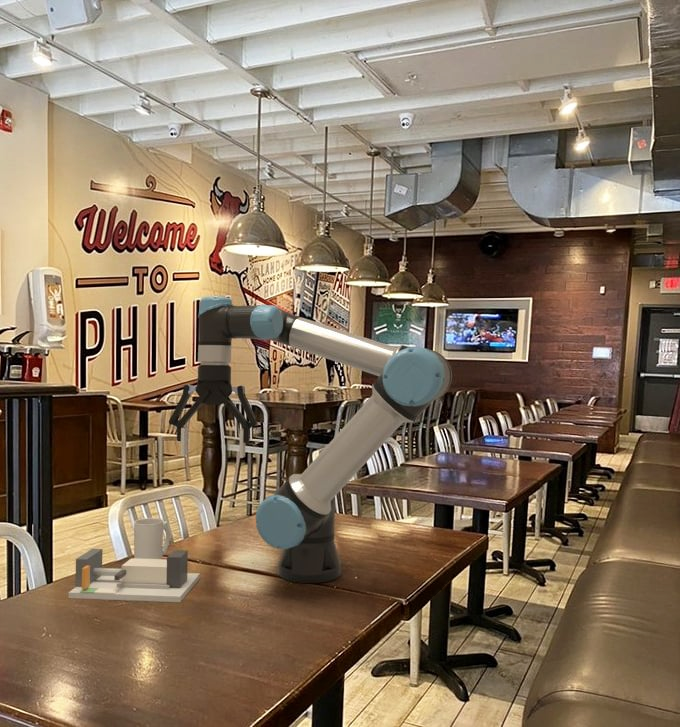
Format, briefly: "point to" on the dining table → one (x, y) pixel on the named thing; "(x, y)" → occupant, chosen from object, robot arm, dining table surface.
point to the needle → (85, 577)
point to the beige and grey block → (156, 570)
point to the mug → (150, 538)
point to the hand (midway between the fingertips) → (213, 456)
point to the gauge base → (123, 584)
